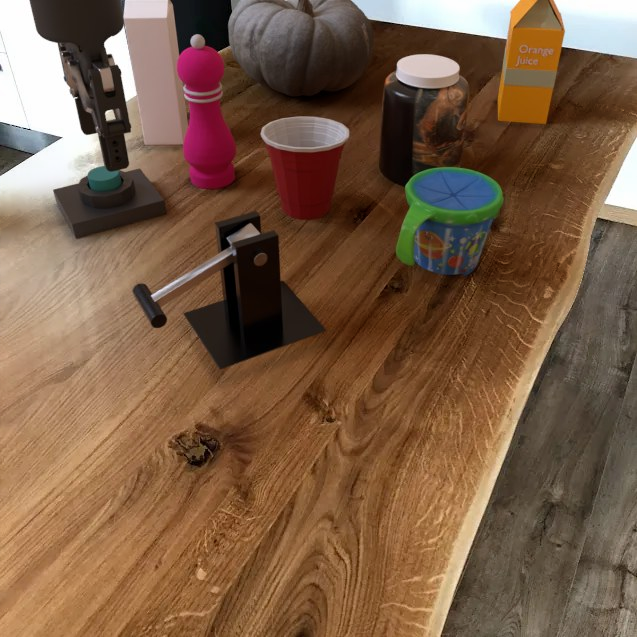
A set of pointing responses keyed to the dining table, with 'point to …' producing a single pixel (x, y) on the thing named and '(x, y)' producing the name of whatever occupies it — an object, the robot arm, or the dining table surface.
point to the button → (103, 179)
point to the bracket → (251, 300)
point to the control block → (109, 204)
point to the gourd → (301, 43)
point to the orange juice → (530, 61)
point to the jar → (422, 117)
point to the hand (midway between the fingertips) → (105, 149)
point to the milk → (156, 70)
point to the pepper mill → (206, 117)
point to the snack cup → (448, 219)
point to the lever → (186, 280)
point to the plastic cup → (305, 162)
